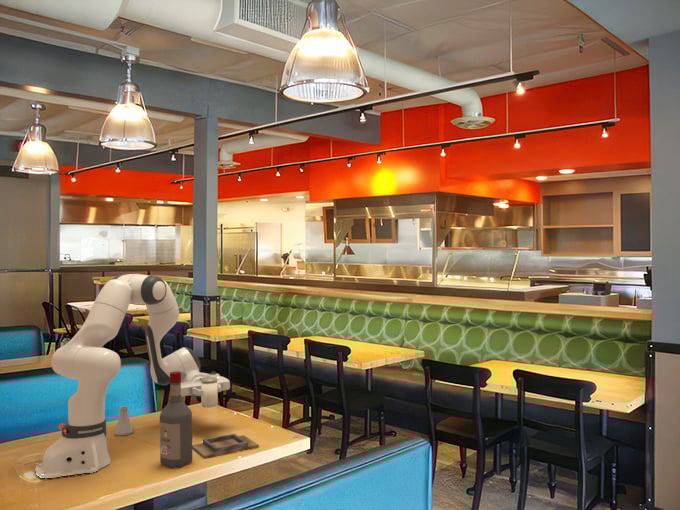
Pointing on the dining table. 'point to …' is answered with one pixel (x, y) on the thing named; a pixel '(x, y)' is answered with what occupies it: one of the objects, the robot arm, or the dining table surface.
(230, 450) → the locating board
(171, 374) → the liquor
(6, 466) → the dining table surface
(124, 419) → the flask
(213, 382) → the spice jar
